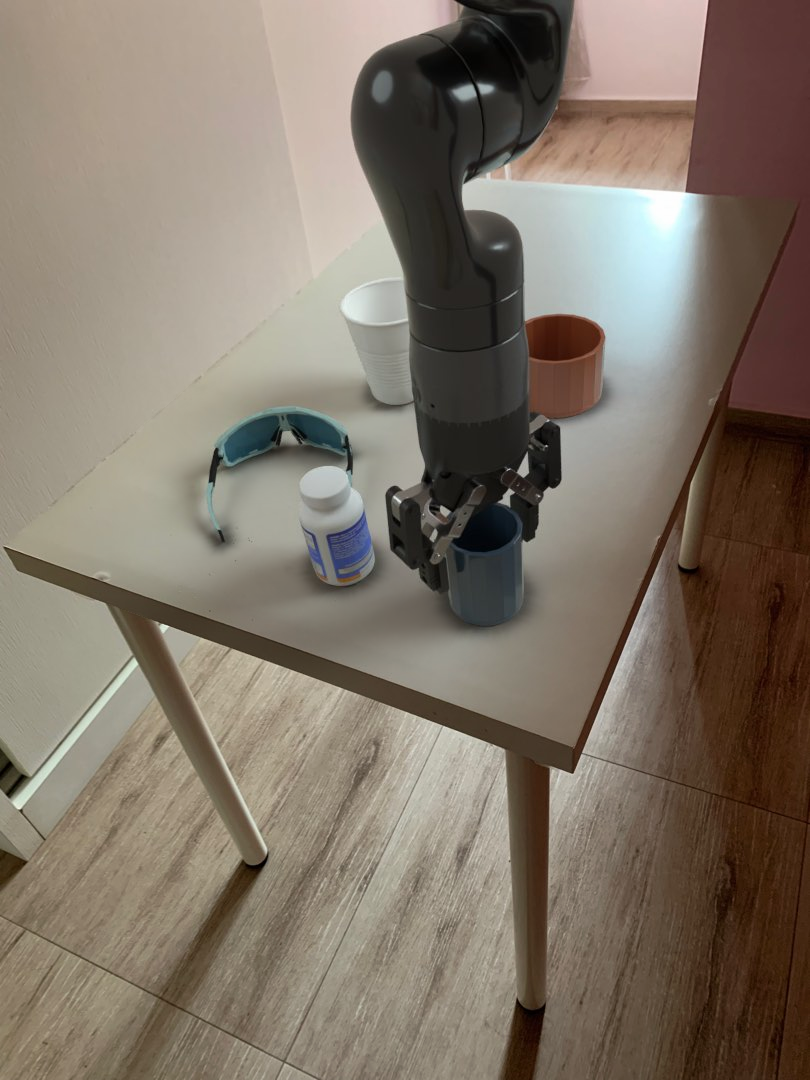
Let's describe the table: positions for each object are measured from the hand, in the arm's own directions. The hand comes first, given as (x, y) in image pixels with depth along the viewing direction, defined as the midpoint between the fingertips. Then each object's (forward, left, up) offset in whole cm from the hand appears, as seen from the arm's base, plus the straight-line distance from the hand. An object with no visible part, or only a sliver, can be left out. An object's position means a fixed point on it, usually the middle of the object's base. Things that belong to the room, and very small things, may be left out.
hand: (481, 560), depth 63 cm
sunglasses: (+24, +6, -5) cm, 25 cm away
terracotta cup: (+18, -24, -4) cm, 30 cm away
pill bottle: (+11, +7, -5) cm, 14 cm away
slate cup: (0, 0, -4) cm, 4 cm away
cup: (+30, -12, -5) cm, 33 cm away
